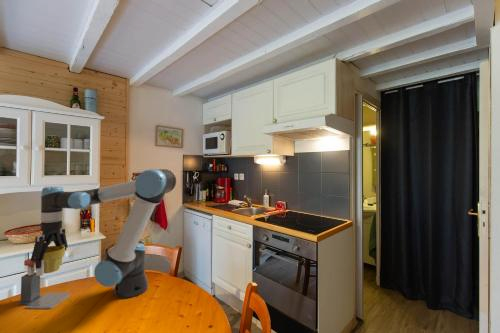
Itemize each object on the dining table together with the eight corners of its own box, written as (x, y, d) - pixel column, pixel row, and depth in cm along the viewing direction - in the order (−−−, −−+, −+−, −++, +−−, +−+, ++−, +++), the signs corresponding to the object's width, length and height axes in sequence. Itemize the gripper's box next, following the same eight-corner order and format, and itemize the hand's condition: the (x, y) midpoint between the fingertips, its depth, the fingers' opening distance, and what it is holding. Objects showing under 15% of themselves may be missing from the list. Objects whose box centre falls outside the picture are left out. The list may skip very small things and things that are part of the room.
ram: (40, 285, 110) (41, 258, 110) (31, 290, 105) (32, 262, 105) (30, 285, 110) (30, 257, 110) (20, 290, 105) (21, 261, 105)
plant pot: (47, 276, 101) (47, 253, 102) (28, 274, 104) (28, 251, 104) (70, 267, 112) (70, 246, 112) (52, 264, 114) (52, 244, 114)
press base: (70, 295, 113) (71, 269, 113) (51, 308, 102) (52, 280, 102) (35, 294, 113) (36, 269, 113) (12, 308, 102) (13, 280, 102)
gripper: (62, 215, 119) (61, 259, 119) (19, 226, 96) (17, 281, 96) (77, 215, 119) (76, 260, 119) (38, 227, 97) (36, 281, 96)
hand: (50, 269), depth 108 cm, fingers closed on plant pot, 10 cm apart
